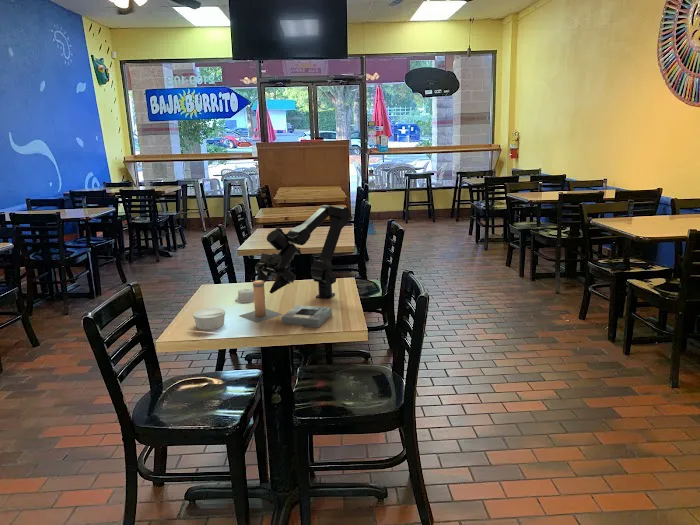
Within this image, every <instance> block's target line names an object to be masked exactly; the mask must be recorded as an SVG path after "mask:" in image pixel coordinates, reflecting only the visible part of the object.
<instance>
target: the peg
mask: <svg viewBox="0 0 700 525" xmlns="http://www.w3.org/2000/svg"><path fill="white" fill-rule="evenodd" d="M252 289H253V290H254V302H253V304H254V311H255V316H257V317H263V316H265V315H266V309H267V308H266V296H265V295H266V294H265V283H264V281H262V280H258V281H257V280H253V281H252Z"/></svg>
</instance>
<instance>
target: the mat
mask: <svg viewBox="0 0 700 525" xmlns="http://www.w3.org/2000/svg"><path fill="white" fill-rule="evenodd" d="M283 315H284V313H281V312H277V311H274V310H271V309H268V308H266V315H265V316H263V317H257V316H255V310H252V311H250V312H247V313H244V314H240V315H238V317H240V318H243V319H246V320H248V321H251V322H254V323H257V324H258V323H261V322H264V321H267V320H270V319H274V318H276V317H280V316H283Z"/></svg>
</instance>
